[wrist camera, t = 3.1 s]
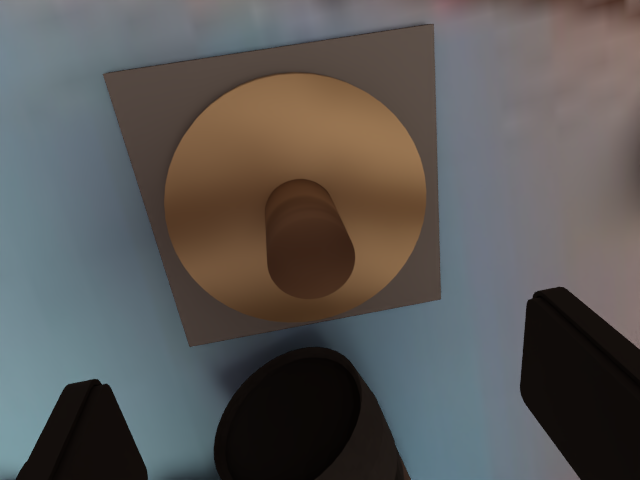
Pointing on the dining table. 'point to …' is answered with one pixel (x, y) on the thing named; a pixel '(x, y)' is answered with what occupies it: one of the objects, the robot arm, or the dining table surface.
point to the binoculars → (306, 424)
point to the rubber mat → (234, 69)
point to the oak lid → (295, 197)
